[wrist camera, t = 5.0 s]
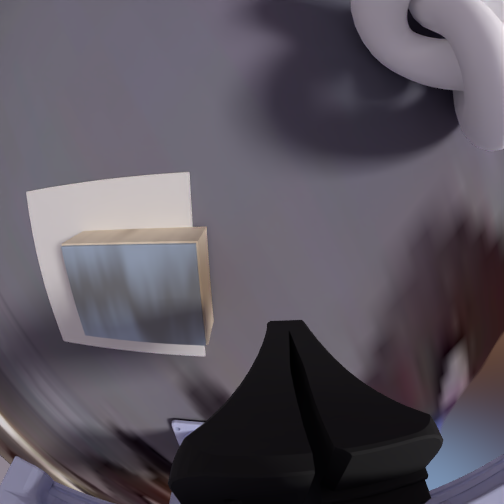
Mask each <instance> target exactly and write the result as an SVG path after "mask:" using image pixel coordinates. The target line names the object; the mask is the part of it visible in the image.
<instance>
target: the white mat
mask: <svg viewBox="0 0 504 504" xmlns="http://www.w3.org/2000/svg"><path fill="white" fill-rule="evenodd" d="M26 194H27V201H28V209H29V215H30V221H31V227H32V233H33V238H34V243H35V247H36V252H37V256H38V261H39V265H40V269H41V273H42V276H43V280H44V284H45V287H46V291H47V294H48V297H49V301H50V304H51V307H52V310H53V313H54V316H55V319H56V322H57V324H58V327H59V330H60V332H61V335H62V338H63V340H64V341H66V342H71V343H77V344H83V345H90V346H97V347H104V348H111V349H119V350H128V351H137V352H147V353H158V354H172V355H188V356H205V355H206V352H205V346H200V345H179V344H163V343H150V342H138V341H128V340H118V339H109V338H101V337H93V336H86V335H85V333H84V330H83V327H82V324H81V321H80V318H79V315H78V311H77V308H76V305H75V301H74V298H73V294H72V291H71V287H70V283H69V279H68V275H67V271H66V267H65V263H64V258H63V253H62V249H61V247H62V243H64V242H65V241H67V240H69V239H70V238H72V237H74V236H75V235H77V234H79V233H81V232H82V231H93V230H116V229H142V228H174V227H193V223H192V208H191V190H190V172H180V173H165V174H152V175H141V176H131V177H121V178H112V179H104V180H96V181H88V182H81V183H74V184H68V185H61V186H55V187H49V188H43V189H38V190H32V191H28V192H26Z"/></svg>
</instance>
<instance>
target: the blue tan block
mask: <svg viewBox="0 0 504 504" xmlns="http://www.w3.org/2000/svg"><path fill="white" fill-rule="evenodd" d="M61 249H62V253H63V258H64V263H65V267H66V271H67V275H68V279H69V283H70V287H71V291H72V294H73V298H74V301H75V305H76V308H77V311H78V315H79V318H80V321H81V324H82V327H83V330H84V333H85V335H86V336H93V337H101V338H109V339H118V340H128V341H138V342H150V343H163V344H179V345H200V346H206V345H208V343H209V339H210V334H211V330H212V325H213V321H214V320H213V309H212V297H211V285H210V272H209V259H208V244H207V227H174V228H142V229H116V230H93V231H82V232H81V233H79V234H77V235H75V236H74V237H72V238H70V239H69V240H67V241H65V242H64V243H62V247H61Z"/></svg>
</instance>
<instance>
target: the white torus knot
mask: <svg viewBox="0 0 504 504" xmlns="http://www.w3.org/2000/svg"><path fill="white" fill-rule="evenodd" d="M350 1H351V13H352V17H353V21H354V25H355V27H356V29H357V31H358V33H359V35H360V37H361V40H362V41H363V43H364V44H365V46H366V47H367V48H368V50H369V51H370V52H371V54H372V55H373V56H374V57H375V58H376V59H377V60H378V61H379V62H380V63H381V64H383V65H384V66H386V67H387V68H389V69H390V70H391V71H393V72H395V73H397V74H399V75H401V76H403V77H405V78H407V79H409V80H411V81H414V82H417V83H419V84H423V85H426V86H430V87H435V88H440V89H447V90H453V100H454V107H455V112H456V115H457V118H458V122H459V125H460V128H461V131H462V133H463V134H464V135H465V136H466V138H467V139H468V140H469V141H470V142H471V143H472V145H474V146H476V147H478V148H481V149H483V150H485V151H488V152H490V151H496V150H501V149H504V0H350ZM408 9H409V11H410V13H411V15H412V17H413V18H414V19H415V20H416V21H417V22H418V23H419V24H420V25H422V26H423V27H425V28H427V29H429V30H432V31H434V32H436V33H438V34H440V35H442V36H443V37H445V38H446V39H438V38H432V37H427V36H423V35H420V34H417V33H415V32H413V31H412V30H411V29H410V27H409V25H408V21H407V11H408Z"/></svg>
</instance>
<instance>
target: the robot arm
mask: <svg viewBox="0 0 504 504" xmlns="http://www.w3.org/2000/svg"><path fill="white" fill-rule="evenodd" d="M171 425H172V428H173V431H174V433H175V436H176V439H177V441H178V444H179V446H180V447H179V449H178V451H177V453H176V456H175V458H174V461H173V464H172V467H171V471H170V476H169V481H168V485H169V488H170V489H171V491H172V493H171V498H170V503H169V504H504V454H503V455H501V456H500V457H498V458H496V459H495V460H493V461H491V462H489V463H487V464H486V465H484V466H482V467H480V468H478V469H477V470H475V471H473V472H471V473H469V474H467V475H465V476H463V477H461V478H459V479H457V480H455V481H452V482H450V483H448V484H445V485H443V486H441V487H438V488H436V489H433V490H431V491H429V490H428V487H427V485H426V482H425V479H427V478H428V473H427V471H426V468H425V467H426V466H427V465H428V464H429V463H430V461H431V460H432V459H433V458H434V457H435V455H436V454H437V453H438V451H439V450H440V448H441V446H442V443H443V438H442V436H441V434H440V432H439V430H438V428H437V426H436V424H435V422H434V421H433V419H432V417H431V416H430V415H429V414H427V413H424V412H421V411H418V410H415V409H413V408H410V407H407V406H405V405H403V404H400V403H398V402H396V401H394V400H392V399H390V398H388V397H386V396H384V395H383V394H381V393H379V392H377V391H376V390H374V389H372V388H371V387H369V386H368V385H366V384H365V383H363V382H362V381H360V380H359V379H358V378H356V377H355V376H354V375H353V374H351V373H350V372H349V371H348V370H346V369H345V368H344V367H343V366H342V365H341V364H340V363H339V362H338V361H337V360H336V359H335V358H334V357H333V356H332V355H331V354H330V353H329V352H328V351H327V350H326V349H325V348H324V347H323V345H322V344H321V343H320V342H319V341H318V340H317V338H316V337H315V336H314V335H313V333H312V332H311V331H310V329H309V328H308V327H307V325H306V324H305V323H304V322H303V321H302V320H289V321H270V322H268V323H267V331H266V335H265V338H264V341H263V344H262V346H261V349H260V351H259V353H258V356H257V358H256V359H255V361H254V363H253V365H252V367H251V369H250V370H249V372H248V374H247V375H246V377H245V378H244V380H243V381H242V383H241V384H240V386H239V387H238V388H237V389H236V391H235V392H234V393H233V394H232V396H231V397H230V398H229V399H228V400H227V401H226V403H225V404H224V405H223V406H222V407H221V408H220V409H219V410H218V411H217V412H216V413H214V414H213V415H212V416H211V417H210V418H209V419H208V420H207V421H206V422H194V421H183V420H173V421H172V424H171ZM0 504H114V503H111V502H108V501H104V500H101V499H98V498H95V497H93V496H90V495H87V494H84V493H82V492H79V491H76V490H74V489H71V488H69V487H67V486H64V485H62V484H60V483H57V482H55V481H53V480H52V478H51V477H50V476H49V475H48V474H47V473H46V472H44V471H43V470H42V469H40V468H38V467H37V466H35V465H33V464H31V463H29V462H27V461H25V460H23V459H22V458H20V457H18V456H15V458H14V460H13V462H12V463H11V465H10V468H9V469H8V471H7V473H6V475H5V477H4V479H3V481H2V483H1V485H0Z"/></svg>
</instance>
